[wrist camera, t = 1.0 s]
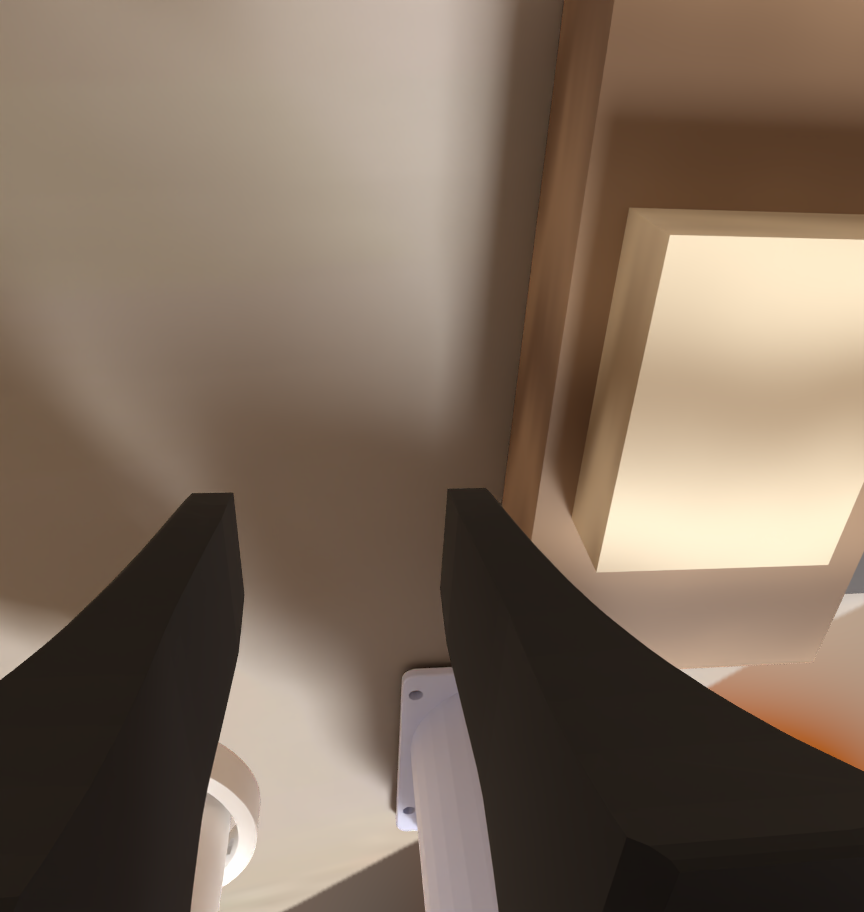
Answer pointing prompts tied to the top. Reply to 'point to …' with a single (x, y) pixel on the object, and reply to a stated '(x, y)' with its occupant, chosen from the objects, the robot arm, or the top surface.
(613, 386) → the birch tile
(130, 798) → the robot arm
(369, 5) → the top surface
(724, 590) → the walnut deck
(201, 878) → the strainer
